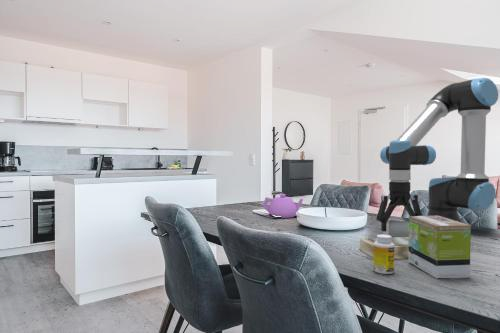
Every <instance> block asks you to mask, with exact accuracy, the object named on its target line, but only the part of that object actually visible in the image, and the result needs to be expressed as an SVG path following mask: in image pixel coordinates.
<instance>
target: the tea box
mask: <svg viewBox="0 0 500 333" xmlns="http://www.w3.org/2000/svg"><path fill="white" fill-rule="evenodd" d="M408 222H409V259H408V263H410V264H412V265H414V266H415V267H417V268H419V269H420V270H421V271H423V272H424V273H426V274H428V275H430V276H431V277H433V278H434V277H435V278H434V279H436V278H450V279H466V278H471V242H472V241H471V240H472V238H471V237H472V236H471V235H472V234H471V233H472V229H471V228H472V225H471V224H468V223H464V222H463V221H462V222H461V221H460V222H458V221H455V220H451V219H448V218H445V217H442V216H427V215H422V216H408Z"/></svg>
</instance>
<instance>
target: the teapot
mask: <svg viewBox="0 0 500 333" xmlns="http://www.w3.org/2000/svg"><path fill="white" fill-rule="evenodd" d="M269 201H270V204H269V205H268V203H269ZM303 201H304V198H300V199H299V200H298V202H297V204H296V203H295V202H294V200H293V199H292V197H289V196H286V194H285V193H280V194H279V196H275V197H274V198H271V197H267V196H266V197H265V198H264V200H263V204H262V208H263V209H265V211H267V213H268V214H269V215H270V214H271V215H275V216H281V218H280V219H289V218H294V217H295V216H296V215H297V214H296V212H297V211H298V212H299V210H300V208H301V206H302V204H303ZM298 212H297V213H298Z"/></svg>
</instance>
